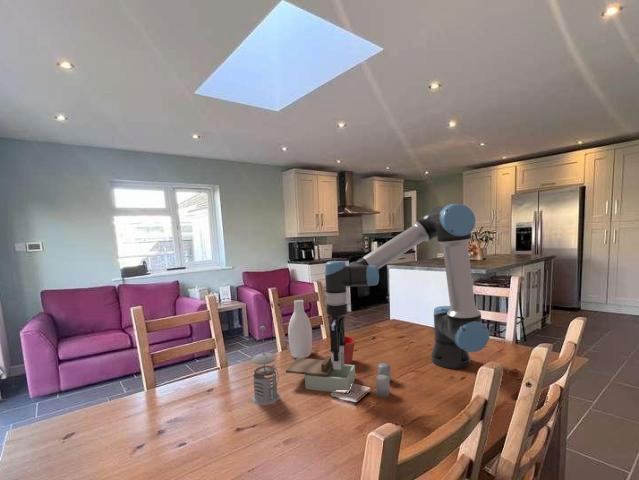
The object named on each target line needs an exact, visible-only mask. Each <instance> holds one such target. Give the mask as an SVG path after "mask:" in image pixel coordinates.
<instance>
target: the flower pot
mask: <svg viewBox="0 0 639 480" xmlns="http://www.w3.org/2000/svg"><path fill="white" fill-rule="evenodd" d="M329 343H330V345H331V342H330V341H329ZM344 343H346V346H345V345H343V346H344V364H346V365H352V363H353V358H354V357H353V356H354V350H355V349H354V348H355V343H356V342H355V339H354V337H351V336H347V335H345V342H344ZM332 353H333V352H331V354H332Z"/></svg>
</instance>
